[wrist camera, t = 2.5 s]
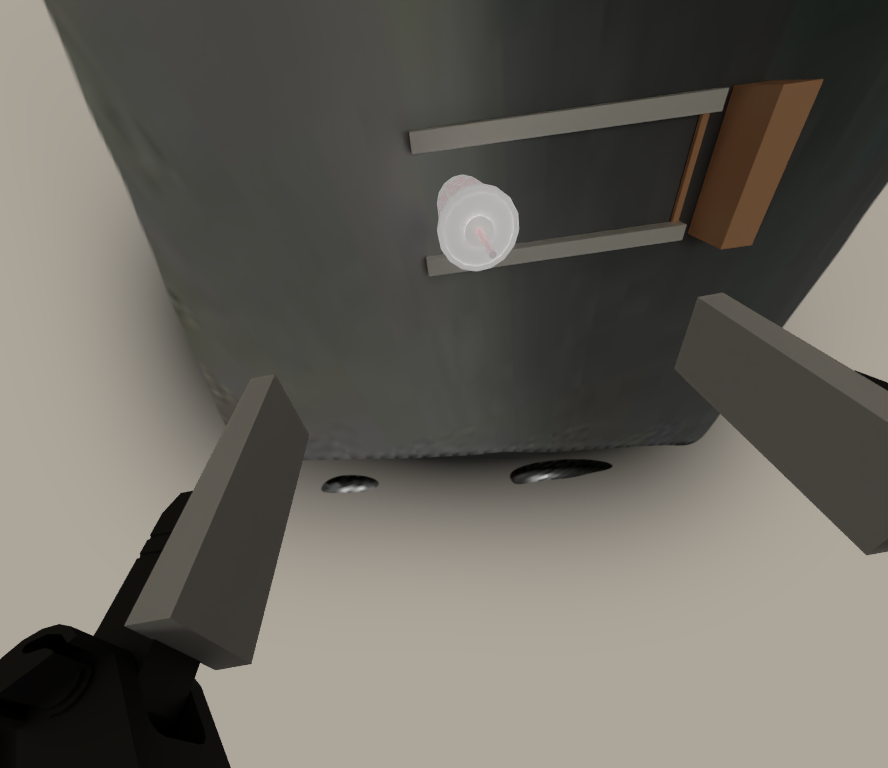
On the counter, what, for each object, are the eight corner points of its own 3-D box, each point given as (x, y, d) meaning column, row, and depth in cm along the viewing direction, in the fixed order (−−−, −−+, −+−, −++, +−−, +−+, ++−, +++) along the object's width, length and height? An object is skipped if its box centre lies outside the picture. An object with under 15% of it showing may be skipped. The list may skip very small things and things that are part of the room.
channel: (427, 270, 37) (431, 291, 33) (408, 130, 30) (410, 136, 26) (715, 229, 38) (751, 245, 34) (768, 80, 30) (823, 78, 26)
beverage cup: (460, 249, 36) (488, 316, 25) (415, 204, 33) (424, 257, 22) (507, 201, 34) (559, 251, 23) (462, 147, 31) (499, 176, 20)
